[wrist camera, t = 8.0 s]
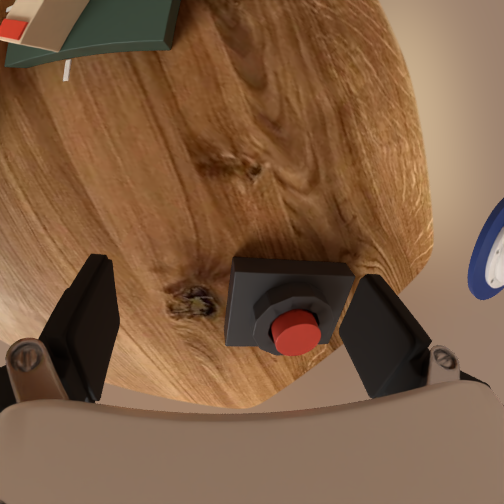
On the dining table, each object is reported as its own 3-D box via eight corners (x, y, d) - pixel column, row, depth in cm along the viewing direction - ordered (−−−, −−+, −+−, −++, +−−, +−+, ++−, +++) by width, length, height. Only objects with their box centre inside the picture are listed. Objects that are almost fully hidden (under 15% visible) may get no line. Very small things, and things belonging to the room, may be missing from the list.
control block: (345, 262, 24) (365, 288, 21) (321, 328, 28) (334, 357, 25) (232, 256, 23) (237, 285, 19) (223, 329, 26) (226, 361, 23)
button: (319, 308, 22) (327, 323, 20) (308, 340, 23) (313, 354, 22) (276, 308, 21) (281, 324, 20) (267, 341, 23) (271, 357, 21)
